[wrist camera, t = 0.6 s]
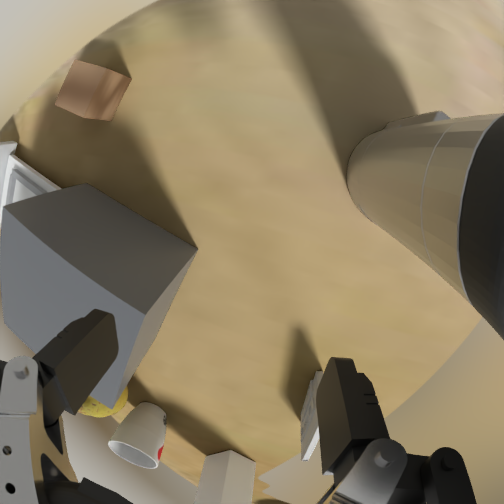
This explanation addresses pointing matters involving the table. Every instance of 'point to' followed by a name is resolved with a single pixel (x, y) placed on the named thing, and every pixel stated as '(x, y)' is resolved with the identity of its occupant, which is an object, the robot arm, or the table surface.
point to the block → (92, 91)
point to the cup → (141, 436)
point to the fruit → (103, 406)
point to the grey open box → (88, 273)
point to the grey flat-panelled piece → (19, 178)
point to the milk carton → (226, 479)
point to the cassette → (310, 419)
